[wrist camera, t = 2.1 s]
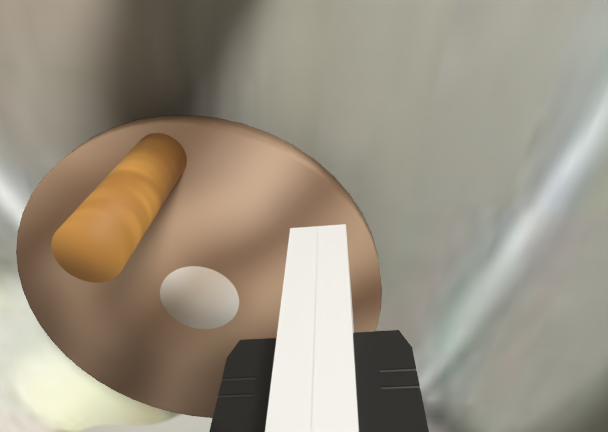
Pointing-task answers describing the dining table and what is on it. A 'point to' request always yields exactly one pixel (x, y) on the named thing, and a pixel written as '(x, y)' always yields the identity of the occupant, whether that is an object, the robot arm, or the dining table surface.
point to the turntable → (177, 251)
